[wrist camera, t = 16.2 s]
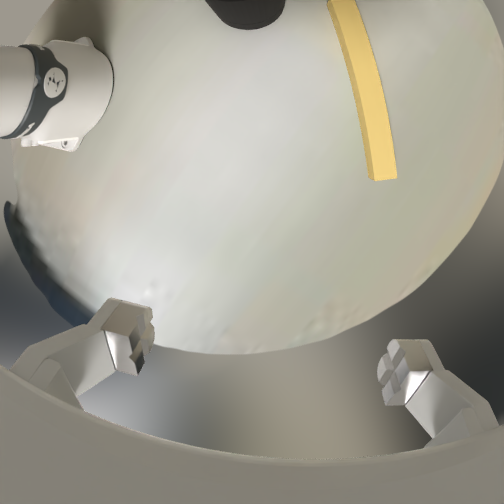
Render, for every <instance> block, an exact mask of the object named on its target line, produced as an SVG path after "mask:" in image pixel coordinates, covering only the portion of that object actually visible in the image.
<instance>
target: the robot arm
mask: <svg viewBox="0 0 504 504" xmlns="http://www.w3.org/2000/svg"><path fill="white" fill-rule="evenodd" d="M112 87H113V72H112V68H111V65H110V62H109V60H108V59H107V57H106V56H105V55H104V54H103V53H101V52H100V51H98V50H97V49H95V48H94V45H93V43H92V41H91V39H90V38H88V37H82V38H79V39H78V40H76V41H74V42H69V41H62V40H51V41H50V42H49V43H47V44H45V45H44V46H40V45H35V44H29V45H20V46H18V47H14V46H2V45H0V138H2V139H16V138H19V137H21V146H24V147H26V146H38V145H44V146H49V147H53V148H57V149H61V150H65V151H75V150H77V149H78V147H79V145H80V143H81V141H82V139H83V137H84V136H85V134H86V133H87V132H88V131H90V130H91V129H92V128H93V127H94V126H95V125H96V124H97V122H98V121H99V120H100V118H101V117H102V115H103V114H104V112H105V110H106V108H107V106H108V103H109V100H110V97H111V93H112ZM152 318H153V315H152V309H151V308H150V307H147V306H143V305H139V304H135V303H131V302H128V301H123V300H119V299H115V298H109V299H107V301H106V302H105V303H104V304H103V305H102V307H101V308H100V309H99V310H98V312H97V313H96V314H95V315H94V316H93V318H92V319H91V320H90V321H89V323H88V324H87V325H85V324H82V325H79V326H77V327H75V328H72V329H70V330H67V331H65V332H62V333H60V334H58V335H55V336H53V337H50V338H48V339H45V340H43V341H41V342H38V343H36V344H33V345H31V346H28V348H27V349H26V350H25V351H24V352H23V354H22V355H21V356H20V357H19V359H18V360H17V361H16V362H15V364H14V365H13V366H12V367H11V369H10V370H8V369H6V368H4V367H3V366H2V365H0V504H504V425H502V426H499V425H498V423H497V420H496V418H495V416H494V414H493V412H492V409H491V407H490V405H489V403H488V401H486V400H485V399H484V398H483V397H481V396H480V395H479V394H478V393H476V392H475V391H474V390H472V389H471V388H470V387H469V386H467V385H466V384H465V383H463V382H462V381H461V380H460V379H459V378H457V377H456V376H455V375H454V374H452V373H451V372H449V371H448V370H445V369H444V367H443V366H442V363H441V362H440V359H439V357H438V355H437V353H436V352H435V350H434V348H433V346H432V344H431V342H430V341H428V340H399V339H393V340H392V341H391V342H390V343H389V345H388V347H387V349H388V353H387V354H385V355H384V356H382V358H381V360H380V362H379V364H378V369H377V376H378V380H379V382H380V383H381V384H382V385H383V386H384V387H383V389H382V394H383V398H384V402H385V405H386V406H390V405H405V406H406V407H407V409H408V410H409V411H410V412H411V413H412V415H413V416H414V417H415V418H416V419H417V420H418V421H419V423H420V424H421V425H422V426H423V427H424V429H425V430H426V431H427V432H428V433H429V435H430V436H431V437H432V438H433V439H432V440H431V441H430V442H429V443H428V444H427V445H425V447H424V448H423V449H418V450H413V451H408V452H402V453H396V454H388V455H380V456H370V457H359V458H343V459H289V458H272V457H260V456H251V455H243V454H235V453H228V452H222V451H216V450H211V449H205V448H200V447H195V446H191V445H186V444H182V443H177V442H174V441H170V440H166V439H162V438H158V437H155V436H152V435H148V434H145V433H142V432H139V431H136V430H132V429H129V428H127V427H124V426H121V425H118V424H115V423H112V422H110V421H107V420H105V419H102V418H100V417H97V416H95V415H92V414H90V413H88V412H85V411H84V409H83V406H82V405H81V403H80V401H79V400H78V398H77V397H78V396H79V395H80V394H82V393H84V392H85V391H87V390H88V389H90V388H91V387H93V386H94V385H96V384H97V383H99V382H100V381H102V380H103V379H105V378H106V377H108V376H109V375H111V374H112V373H114V372H115V370H117V371H121V372H124V373H128V374H131V375H135V376H138V375H139V373H140V371H141V369H142V367H143V365H144V363H145V360H144V356H145V355H147V354H149V353H150V351H151V349H152V347H153V342H154V335H155V332H154V327H153V325H152V324H151V323H150V321H151V319H152Z"/></svg>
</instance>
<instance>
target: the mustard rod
mask: <svg viewBox="0 0 504 504" xmlns="http://www.w3.org/2000/svg"><path fill="white" fill-rule="evenodd" d="M327 7H328V10H329V12H330V15H331V18H332V21H333V24H334V27H335V30H336V33H337V36H338V39H339V42H340V45H341V49H342V52H343V55H344V59H345V62H346V66H347V70H348V73H349V77H350V81H351V85H352V89H353V94H354V98H355V102H356V107H357V112H358V117H359V122H360V127H361V132H362V138H363V143H364V149H365V156H366V162H367V169H368V177H369V178H370V179H372V180H374V181H379V180H386V179H394V178H397V172H396V164H395V156H394V149H393V142H392V135H391V129H390V124H389V118H388V113H387V108H386V103H385V98H384V94H383V90H382V85H381V81H380V77H379V73H378V70H377V66H376V62H375V59H374V55H373V52H372V48H371V45H370V42H369V39H368V36H367V33H366V30H365V27H364V24H363V21H362V19H361V16H360V13H359V10H358V8H357V5H356V3H355V0H328V3H327Z"/></svg>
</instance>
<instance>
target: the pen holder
mask: <svg viewBox="0 0 504 504" xmlns="http://www.w3.org/2000/svg"><path fill="white" fill-rule="evenodd" d="M205 1H206V2H207V3H208V5H209V6H210V7H211V8H212V10H213V11H214V12H215V13H216V14H217V15H218V17H219V18H220V19H221V20H222V21H223V22H224V23H226V24H227V25H229V26H231V27H234V28H237V29H244V30H252V29H259V28H262V27H265V26H267V25H269V24H271V23H273V22H274V21H275V20H276V19H278V17H279V16H280V15H281V13H282V11H283V9H284V4H285V0H205Z"/></svg>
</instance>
